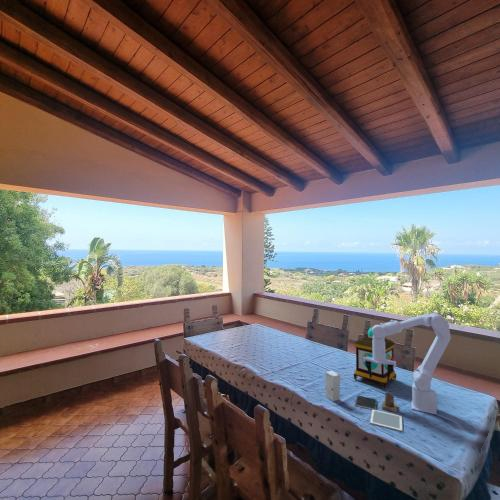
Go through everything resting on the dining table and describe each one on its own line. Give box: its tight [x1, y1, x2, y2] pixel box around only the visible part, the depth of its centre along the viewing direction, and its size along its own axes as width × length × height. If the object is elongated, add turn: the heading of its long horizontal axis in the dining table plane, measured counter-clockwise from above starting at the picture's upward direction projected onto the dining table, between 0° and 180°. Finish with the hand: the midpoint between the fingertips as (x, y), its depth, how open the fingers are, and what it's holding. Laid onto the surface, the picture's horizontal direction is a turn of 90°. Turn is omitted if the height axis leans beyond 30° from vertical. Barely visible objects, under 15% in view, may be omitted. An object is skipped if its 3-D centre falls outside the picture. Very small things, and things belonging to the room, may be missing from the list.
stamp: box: [381, 392, 398, 414], centre depth 129 cm, size 6×6×6 cm
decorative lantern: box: [353, 326, 397, 390], centre depth 159 cm, size 20×20×30 cm
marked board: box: [369, 409, 404, 433], centre depth 118 cm, size 12×12×1 cm
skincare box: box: [324, 370, 341, 402], centre depth 138 cm, size 6×4×12 cm
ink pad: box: [354, 395, 378, 411], centre depth 132 cm, size 9×9×1 cm
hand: (379, 378), depth 136 cm, fingers open, 7 cm apart
